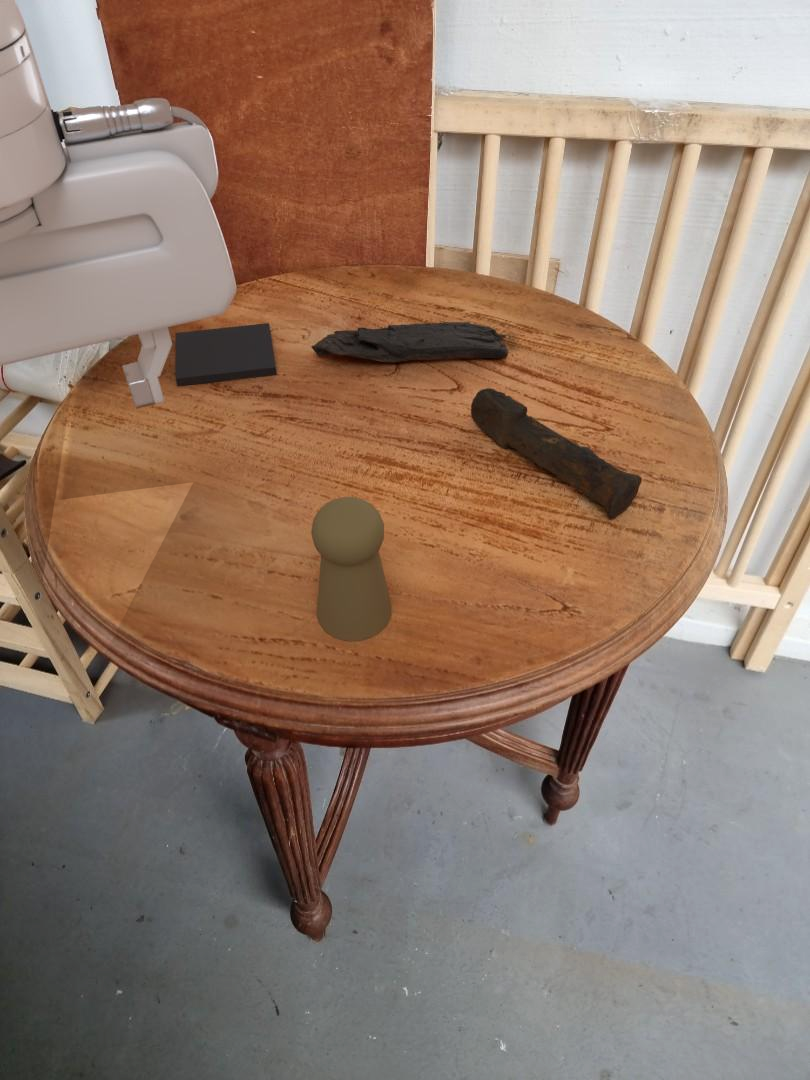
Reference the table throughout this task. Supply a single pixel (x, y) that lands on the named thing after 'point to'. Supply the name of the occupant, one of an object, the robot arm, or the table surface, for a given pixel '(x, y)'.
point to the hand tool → (554, 451)
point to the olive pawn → (351, 569)
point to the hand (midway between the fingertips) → (54, 423)
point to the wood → (415, 342)
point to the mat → (224, 354)
